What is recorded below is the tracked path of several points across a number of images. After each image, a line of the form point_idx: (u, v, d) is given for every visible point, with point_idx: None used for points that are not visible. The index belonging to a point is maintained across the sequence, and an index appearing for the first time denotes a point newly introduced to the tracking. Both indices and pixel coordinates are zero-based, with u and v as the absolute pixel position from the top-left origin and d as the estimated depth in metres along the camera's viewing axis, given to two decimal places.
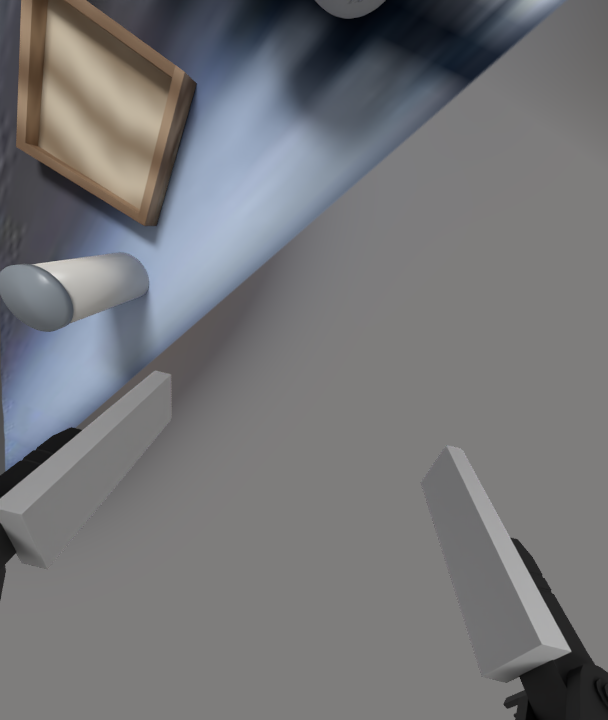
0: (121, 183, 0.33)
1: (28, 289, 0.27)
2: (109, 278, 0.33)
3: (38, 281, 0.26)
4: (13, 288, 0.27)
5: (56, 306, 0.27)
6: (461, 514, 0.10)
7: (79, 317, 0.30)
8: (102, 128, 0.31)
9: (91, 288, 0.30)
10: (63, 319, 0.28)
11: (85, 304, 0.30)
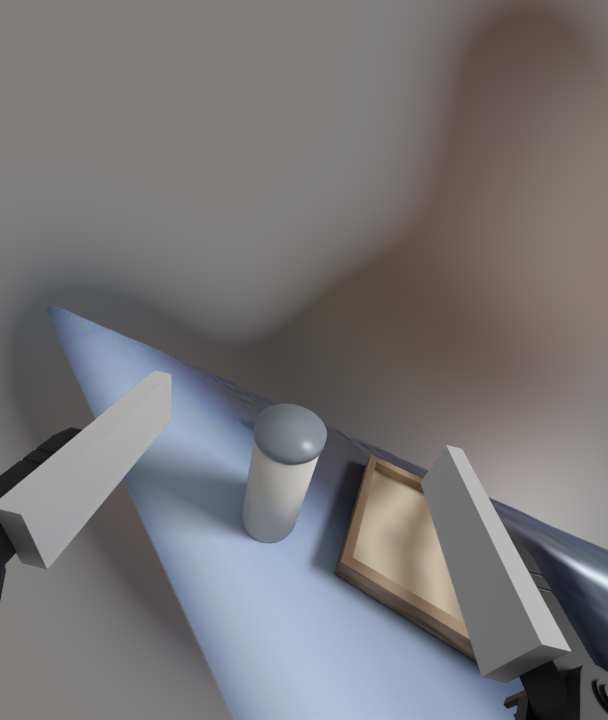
0: (370, 539, 0.31)
1: (303, 429, 0.25)
2: (290, 503, 0.26)
3: (314, 442, 0.24)
4: (301, 417, 0.27)
5: (287, 447, 0.23)
6: (462, 514, 0.10)
7: (261, 461, 0.24)
8: (409, 533, 0.32)
9: (290, 485, 0.25)
10: (271, 448, 0.23)
11: (277, 473, 0.24)
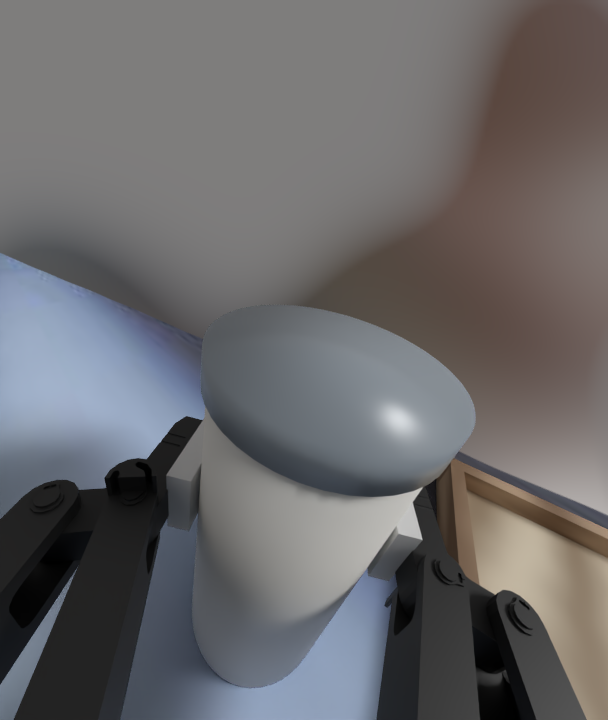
0: None
1: (382, 363, 0.07)
2: (324, 613, 0.08)
3: (436, 402, 0.06)
4: (362, 335, 0.09)
5: (342, 416, 0.05)
6: None
7: (223, 473, 0.06)
8: (578, 638, 0.14)
9: (336, 569, 0.06)
10: (264, 415, 0.04)
11: (288, 529, 0.06)
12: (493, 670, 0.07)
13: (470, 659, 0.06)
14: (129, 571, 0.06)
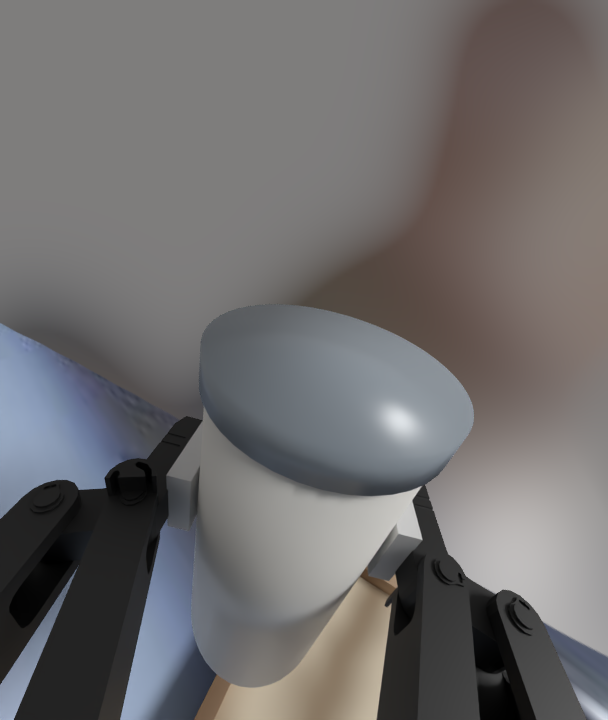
0: (254, 692, 0.18)
1: (380, 363, 0.07)
2: (323, 612, 0.08)
3: (434, 401, 0.06)
4: (361, 335, 0.09)
5: (340, 415, 0.05)
6: None
7: (222, 473, 0.06)
8: (328, 671, 0.19)
9: (335, 568, 0.06)
10: (262, 414, 0.04)
11: (286, 529, 0.06)
12: (493, 670, 0.07)
13: (470, 659, 0.06)
14: (129, 571, 0.06)
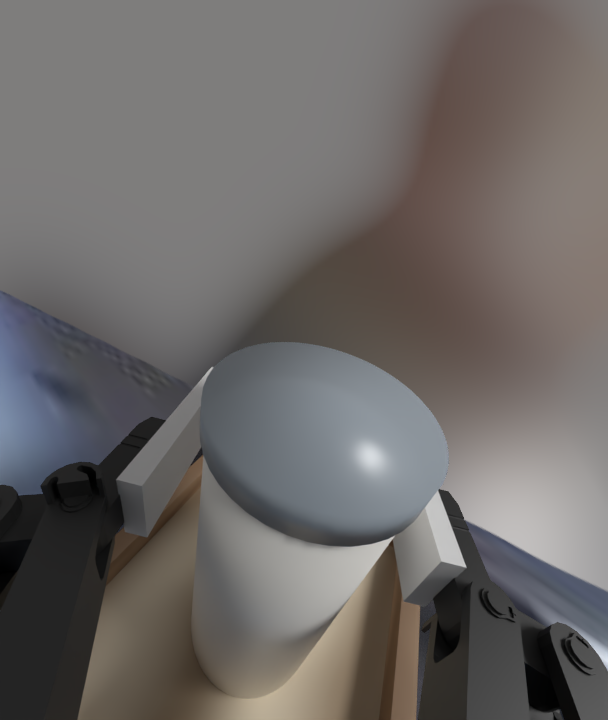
0: (126, 607, 0.13)
1: (366, 408, 0.08)
2: (313, 634, 0.09)
3: (413, 450, 0.07)
4: (351, 374, 0.09)
5: (325, 473, 0.05)
6: None
7: (220, 515, 0.07)
8: None
9: (323, 599, 0.07)
10: (255, 476, 0.05)
11: (278, 569, 0.06)
12: (543, 707, 0.07)
13: (523, 702, 0.06)
14: (74, 578, 0.06)
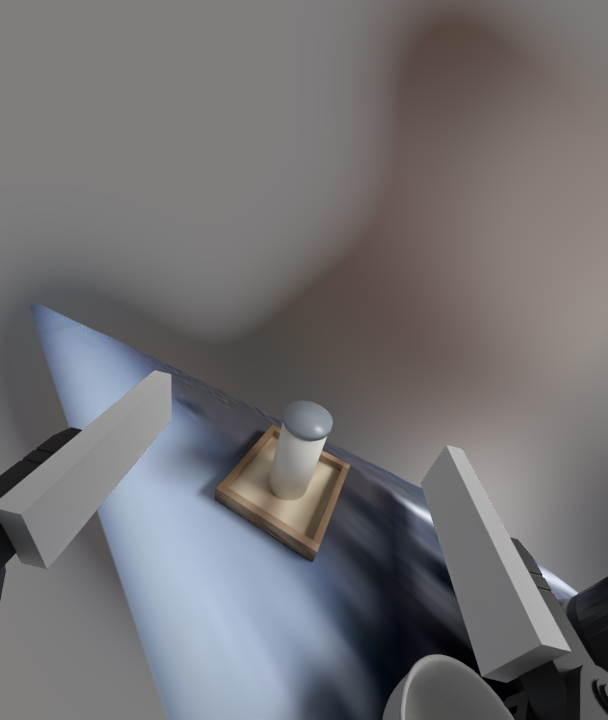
0: (249, 479, 0.42)
1: (316, 418, 0.37)
2: (306, 470, 0.38)
3: (324, 426, 0.36)
4: (315, 410, 0.38)
5: (307, 429, 0.35)
6: (462, 514, 0.10)
7: (288, 438, 0.36)
8: None
9: (307, 456, 0.36)
10: (296, 429, 0.34)
11: (299, 447, 0.35)
12: None
13: None
14: None
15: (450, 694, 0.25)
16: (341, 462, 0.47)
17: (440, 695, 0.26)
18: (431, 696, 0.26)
